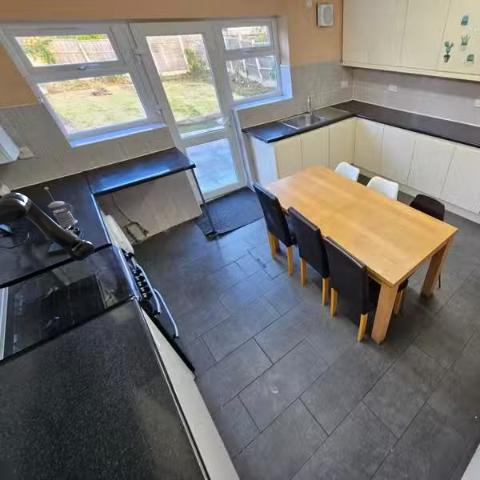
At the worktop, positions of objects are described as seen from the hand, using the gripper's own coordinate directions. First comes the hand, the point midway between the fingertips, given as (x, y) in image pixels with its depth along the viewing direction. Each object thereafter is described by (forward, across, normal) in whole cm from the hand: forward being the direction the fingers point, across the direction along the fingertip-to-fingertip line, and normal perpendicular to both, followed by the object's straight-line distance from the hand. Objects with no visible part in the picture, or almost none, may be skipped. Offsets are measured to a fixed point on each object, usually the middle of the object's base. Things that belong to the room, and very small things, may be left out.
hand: (57, 229), depth 152 cm
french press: (+25, -9, +10) cm, 28 cm away
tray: (+1, 0, +10) cm, 11 cm away
